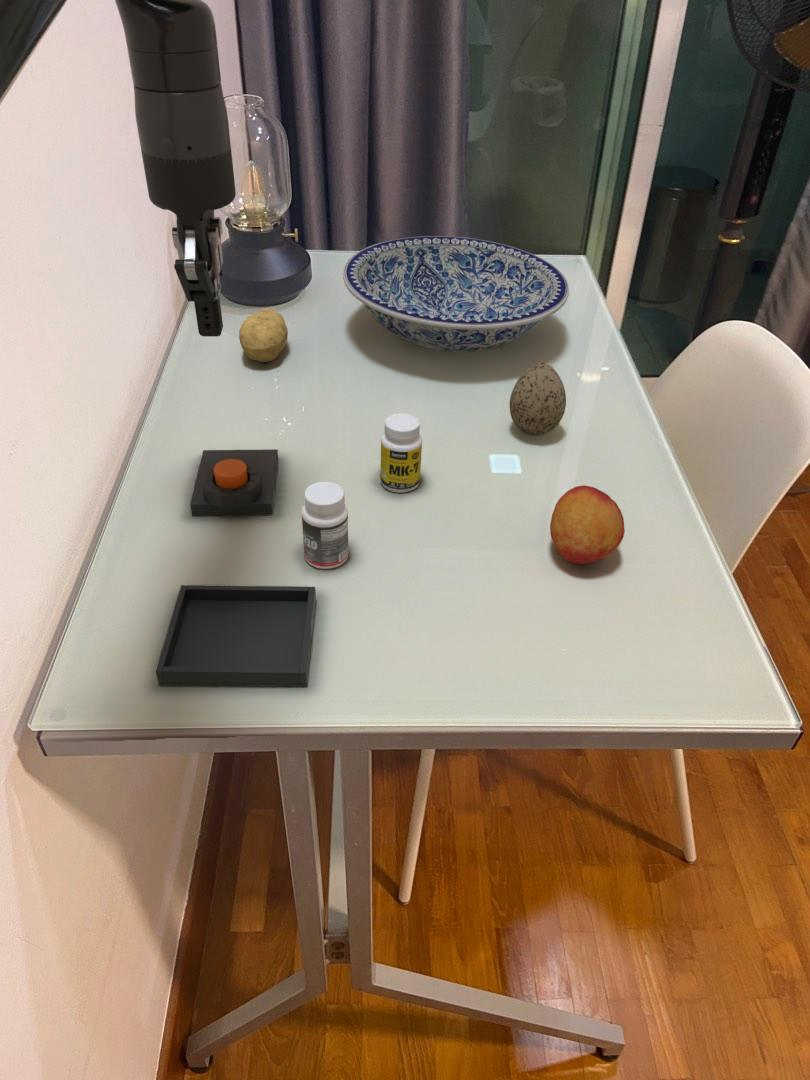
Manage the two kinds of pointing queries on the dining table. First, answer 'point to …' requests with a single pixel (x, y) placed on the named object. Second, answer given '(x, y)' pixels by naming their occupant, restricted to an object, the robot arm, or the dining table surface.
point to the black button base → (243, 499)
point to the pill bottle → (325, 525)
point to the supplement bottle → (401, 453)
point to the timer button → (230, 474)
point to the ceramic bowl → (455, 290)
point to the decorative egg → (538, 400)
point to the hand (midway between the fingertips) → (211, 332)
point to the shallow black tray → (239, 636)
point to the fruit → (586, 525)
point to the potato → (263, 335)
